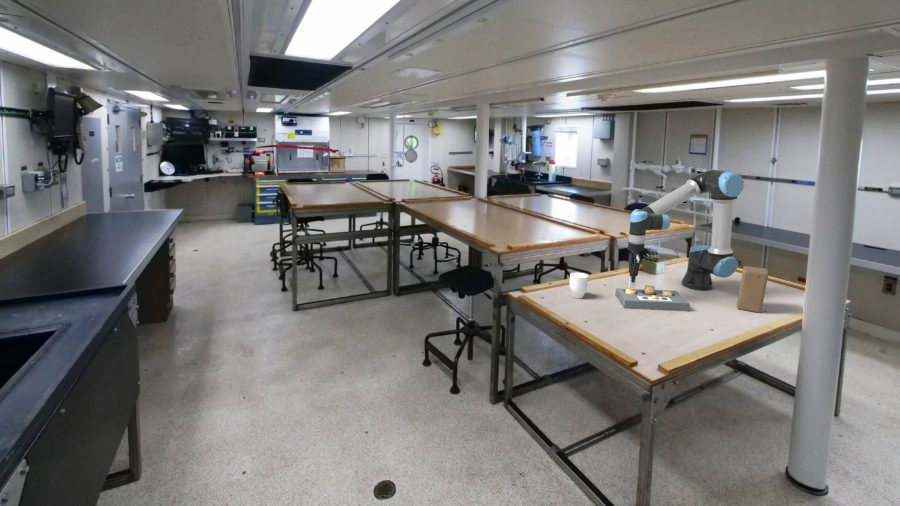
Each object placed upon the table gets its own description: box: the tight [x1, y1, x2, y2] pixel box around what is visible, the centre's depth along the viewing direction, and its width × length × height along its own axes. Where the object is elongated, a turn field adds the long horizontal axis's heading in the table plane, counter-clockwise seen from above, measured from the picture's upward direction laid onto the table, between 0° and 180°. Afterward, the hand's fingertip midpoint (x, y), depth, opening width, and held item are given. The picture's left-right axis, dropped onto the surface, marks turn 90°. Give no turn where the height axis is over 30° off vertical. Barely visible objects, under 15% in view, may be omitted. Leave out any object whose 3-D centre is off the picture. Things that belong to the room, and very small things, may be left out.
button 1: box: [625, 288, 636, 294], centre depth 237 cm, size 5×5×4 cm
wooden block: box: [736, 265, 769, 314], centre depth 224 cm, size 10×10×20 cm
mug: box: [569, 272, 589, 299], centre depth 240 cm, size 12×9×12 cm
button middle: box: [643, 284, 656, 295], centre depth 235 cm, size 5×5×4 cm
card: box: [637, 295, 672, 302], centre depth 227 cm, size 15×5×2 cm, turn 84°
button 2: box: [662, 289, 673, 296], centre depth 235 cm, size 5×5×4 cm
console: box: [614, 287, 691, 312], centre depth 232 cm, size 30×18×4 cm, turn 84°
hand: (631, 287), depth 236 cm, fingers closed
